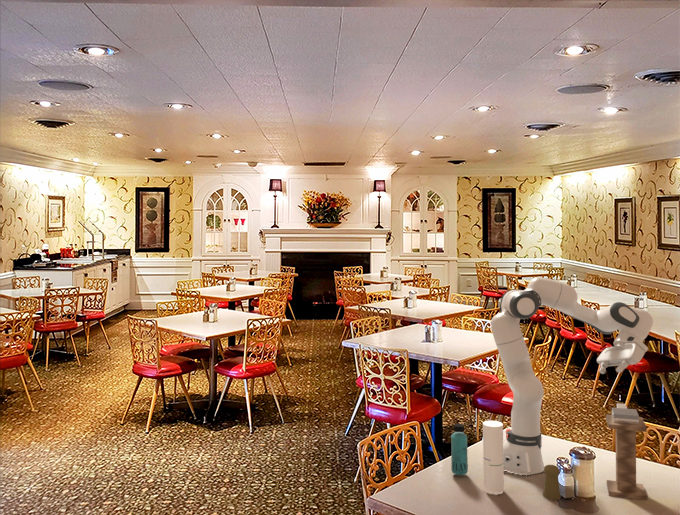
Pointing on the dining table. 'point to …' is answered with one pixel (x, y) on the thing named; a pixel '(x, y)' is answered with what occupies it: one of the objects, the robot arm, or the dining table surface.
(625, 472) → the stand
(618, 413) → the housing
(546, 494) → the olive shaker
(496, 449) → the cylindrical container
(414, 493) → the dining table surface
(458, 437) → the beverage bottle
